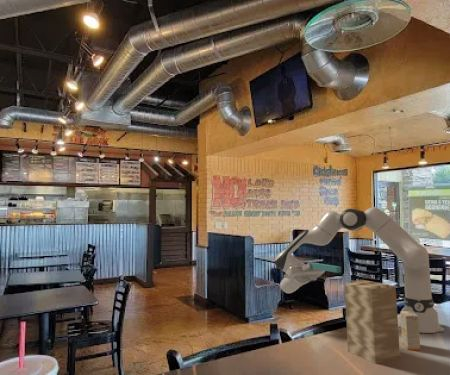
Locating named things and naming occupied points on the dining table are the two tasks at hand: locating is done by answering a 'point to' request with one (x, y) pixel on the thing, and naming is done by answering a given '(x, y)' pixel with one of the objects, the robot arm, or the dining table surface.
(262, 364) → the dining table surface
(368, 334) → the birch post
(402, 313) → the supplement box
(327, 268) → the teal bar
